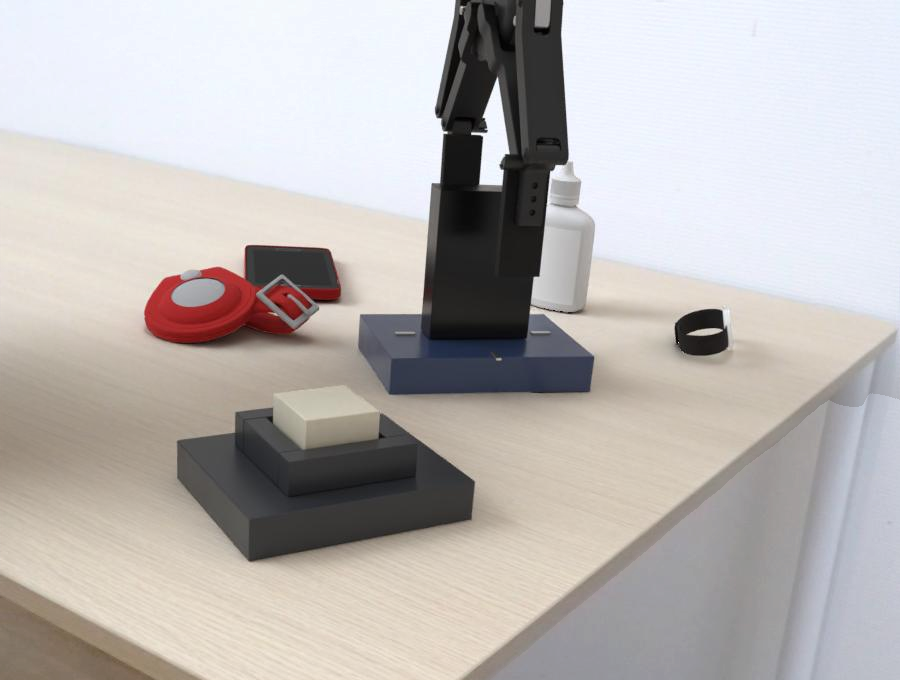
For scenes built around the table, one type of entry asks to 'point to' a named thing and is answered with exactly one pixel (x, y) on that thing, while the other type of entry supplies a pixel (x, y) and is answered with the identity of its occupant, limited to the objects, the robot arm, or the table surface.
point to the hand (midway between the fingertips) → (484, 250)
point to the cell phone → (294, 269)
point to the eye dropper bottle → (564, 248)
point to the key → (325, 417)
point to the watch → (707, 342)
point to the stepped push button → (318, 487)
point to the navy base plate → (472, 359)
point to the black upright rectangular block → (469, 269)
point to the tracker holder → (223, 306)
